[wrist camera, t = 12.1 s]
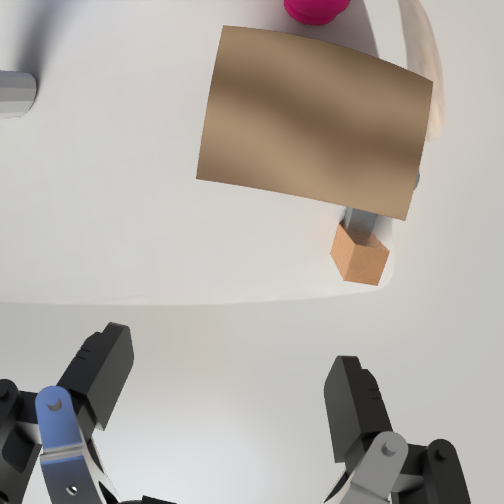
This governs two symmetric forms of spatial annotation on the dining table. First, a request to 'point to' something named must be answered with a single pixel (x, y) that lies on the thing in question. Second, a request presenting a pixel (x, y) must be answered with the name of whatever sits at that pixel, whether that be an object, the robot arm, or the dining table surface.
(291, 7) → the pepper mill
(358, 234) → the tan grey l-shaped piece
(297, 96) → the brown wooden block
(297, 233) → the dining table surface
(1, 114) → the water bottle
